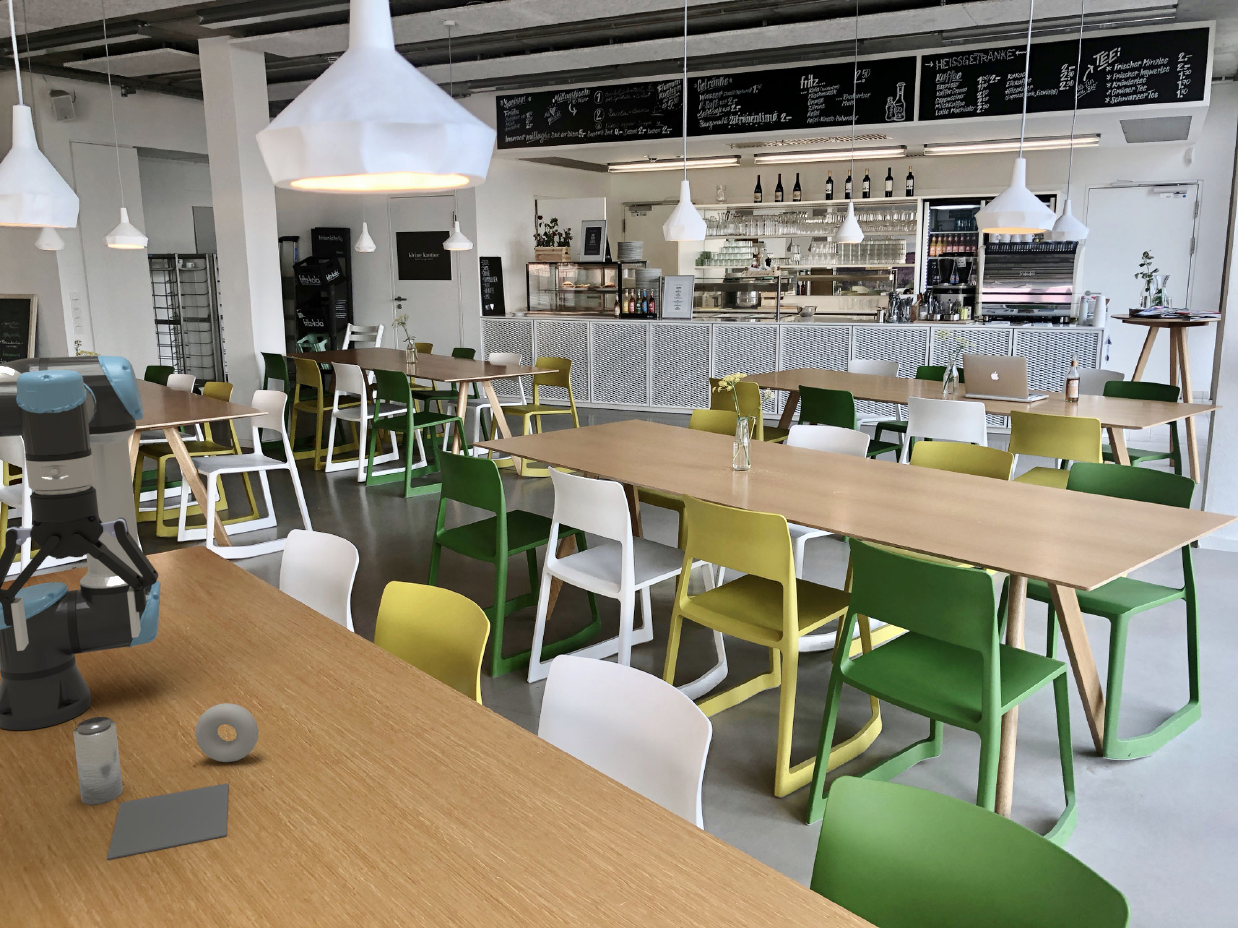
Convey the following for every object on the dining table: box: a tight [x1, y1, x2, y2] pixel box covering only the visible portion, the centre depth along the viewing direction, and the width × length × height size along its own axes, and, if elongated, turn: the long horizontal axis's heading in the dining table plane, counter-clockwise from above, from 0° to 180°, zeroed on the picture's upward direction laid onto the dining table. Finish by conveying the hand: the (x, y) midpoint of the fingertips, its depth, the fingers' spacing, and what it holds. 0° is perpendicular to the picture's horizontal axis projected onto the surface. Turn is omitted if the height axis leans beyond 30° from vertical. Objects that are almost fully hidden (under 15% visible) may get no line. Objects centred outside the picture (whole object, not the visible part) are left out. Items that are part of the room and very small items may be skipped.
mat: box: [106, 782, 229, 861], centre depth 135 cm, size 15×15×1 cm
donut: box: [194, 702, 259, 763], centre depth 151 cm, size 10×4×10 cm, turn 92°
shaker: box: [72, 716, 124, 806], centre depth 141 cm, size 6×6×12 cm
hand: (80, 640), depth 126 cm, fingers open, 13 cm apart
